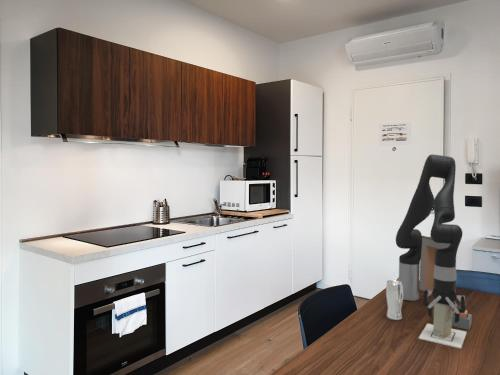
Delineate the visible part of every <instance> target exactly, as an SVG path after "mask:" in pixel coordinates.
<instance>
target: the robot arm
mask: <svg viewBox="0 0 500 375" xmlns="http://www.w3.org/2000/svg"><path fill="white" fill-rule="evenodd" d="M456 165H457V164H456V160H455V158H453V157H452V156H446V155H441V154H429V155H428V156H427V157H426V160H425V161H424V165H423V167H422V172H421V175H420V178H419V181H418V184H417V187H416V189H415V191H414V194H413V196H412V199H411V201H410V204H409V207H408V209H407V211H406V212H407V213H406V214H405V216H404V218H403V221H402V223H401V225H400V226H399V228H398V230H397V231H396V232H397V233H396V235H395V244H396V246H397V247H398V248H400V249H402V250H403V249H405V250H407V249H409V250H408V251H407V252H405V253H402V254H401V255H399V258H398V277H397V281H401V282H403V287H404V296H403V301H404V300H405V301H419V299H420V290H419V285H420V259H421V250H422V236H423V235H422V232H421V231H420V230H419V229H416V227H417V226H418V225H420V224H422V222H424V221H425V220H426V219H427V218H428V217H429V216H430V215H431V213H432V210H433V212H434V216H433V217H434V219H433V223H432V226H431V230H430V234H429V235H430V236H429V237H431V239H432V240H433V241H434V242H436V243H450V246H449V247H447V248H443V249H438V250H436V252H435V267H434V286H433V291H430V290H428V289H426V290H425V291H424V292H423V299H422V300H423V301H422V305H423V306H425V307H427V309H428V311H427V315H428V317H429V318H430V319H432V318H434V303H437V302H438V303H441V304H446V305H450V306H451V307H452V310H453V311H455V323H457V322H459V320H460V313H465V311H466V310H467V305H466V295H465V294H461V295H460V294H459V295H458V294H457V278H458V277H457V254H458V249H459V246H460V243H461V241H462V237H463V229H462V228H461V226H460V225H458V224H453V223H452V224H451V223H450V222H453V221H454V220H455V218H456V212H455V210H456V209H455V201H454V194H455V192H454V191H455V182H456ZM431 178H438V179H444V183H443V186H442V187H441V189H440V190H439V191H438V193H437V194H436V195H434V194H433V191H432V189H431V185H430V180H431ZM434 196H435V197H434ZM446 223H450V224H446ZM430 294H432V295H433V296H432V295H430ZM430 296H432V297H433V300H432V301H431V302H429V297H430ZM456 300H458V301H459V303H460V307H459V306H458V303H457V302H456Z"/></svg>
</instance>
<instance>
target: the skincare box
mask: <svg viewBox="0 0 500 375" xmlns="http://www.w3.org/2000/svg"><path fill="white" fill-rule="evenodd" d="M452 311H453V308H452V307H451V306H450V305H446V304H441V303H438V302H437V303H434V305H433V325H434V327H433V335H436V336H439V337H443V338H445V337H447V336H449V335H450V334H451V330H452V329H453V326H452Z"/></svg>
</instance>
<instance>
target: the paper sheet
mask: <svg viewBox="0 0 500 375" xmlns="http://www.w3.org/2000/svg"><path fill="white" fill-rule="evenodd" d="M433 327H434V323H433V324H431V323H426V325H425V326H424V328H423V329H422V331H421V333H420V335H419V336H418V340H423V341H427V342H431V343H435V344H439V345H443V346H448V347H453V348H456V349H461V350H462V347H463V344H464V341H465V339H466V336H467V331H464V330H461V329H455V328H452V330H451V334H450V335H449V336H447V337H445V338H443V337H439V336H436V335H433Z"/></svg>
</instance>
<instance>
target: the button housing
mask: <svg viewBox="0 0 500 375" xmlns="http://www.w3.org/2000/svg"><path fill="white" fill-rule="evenodd" d="M472 317H473V315H472V314H471V313H467V318H462V317H460V320H459V322H457V323H455V316H454V310H452V328H453V327H454V328H458V329H464V330H467V331H470V329H471V326H472V319H473V318H472Z"/></svg>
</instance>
